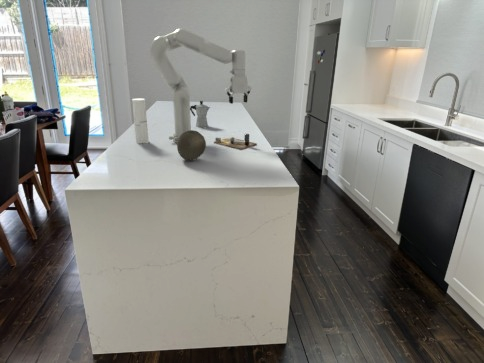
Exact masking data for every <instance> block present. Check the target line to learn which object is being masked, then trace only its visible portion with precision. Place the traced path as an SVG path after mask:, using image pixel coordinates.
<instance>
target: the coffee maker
mask: <svg viewBox="0 0 484 363" xmlns="http://www.w3.org/2000/svg"><path fill="white" fill-rule="evenodd" d="M203 103H204V101H203V100H200V101H199V104H194V105H190V113H191V114H192V116H193V117H195V116H196V124H195V126H196V128H201V129H202V128H207V127H208V126H209V125H208V118H207V115H208V111H209V110H210V109H211V106H208V105H206V104H203ZM194 110H195V111H196V114H195V112H194Z"/></svg>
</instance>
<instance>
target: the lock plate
mask: <svg viewBox="0 0 484 363" xmlns="http://www.w3.org/2000/svg"><path fill="white" fill-rule="evenodd" d="M231 137H232V136H229V137H226V138H223V139H222V138H221V137H217V136H216V137H215V140H214V141H213V144H216V145H220V146H224V147H228V148H231V149H236V150H240V151H242V150H244V149H248V148H251V147H254V146H257V145H258V143H257V142H251V141H249V145H243V144H235V143H230V138H231ZM234 140H238V141H244V139H239V138H235V137H234Z"/></svg>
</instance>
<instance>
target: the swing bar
mask: <svg viewBox="0 0 484 363" xmlns="http://www.w3.org/2000/svg"><path fill="white" fill-rule="evenodd" d="M230 137H231V138H230ZM230 137H229V138H230V143H235V144H243V145H249V142H250V133H244V139H243V140H244V141H238V140H234V138H235V136H230Z"/></svg>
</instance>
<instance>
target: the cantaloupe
mask: <svg viewBox="0 0 484 363" xmlns="http://www.w3.org/2000/svg"><path fill="white" fill-rule="evenodd" d="M206 141H207V140H206V139H205V137H204V136H203V135H202V134H201V132H200V131H197V130H194V129H191V130H189V131H186V132H184V133H182V134H181V135H180V137H179V139H178V142H176V144H177V145H176V149H177V153H178V155H179V156H180V157H181V158H182V159H184V160H185V161H188V162H189V161H190V162H191V161H195V160H197V159H198V158H199V157H201V156H202V155H203V154H204V152H205V151H206V147H207V142H206Z"/></svg>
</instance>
